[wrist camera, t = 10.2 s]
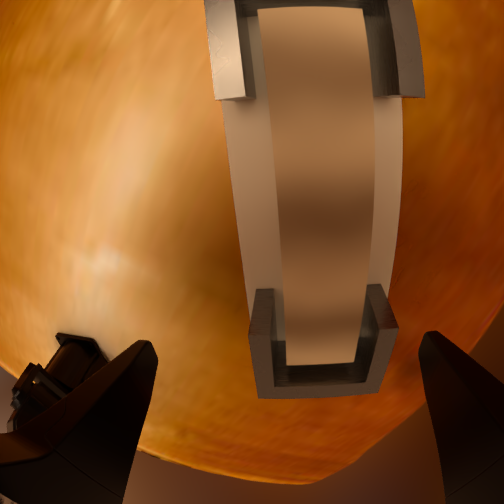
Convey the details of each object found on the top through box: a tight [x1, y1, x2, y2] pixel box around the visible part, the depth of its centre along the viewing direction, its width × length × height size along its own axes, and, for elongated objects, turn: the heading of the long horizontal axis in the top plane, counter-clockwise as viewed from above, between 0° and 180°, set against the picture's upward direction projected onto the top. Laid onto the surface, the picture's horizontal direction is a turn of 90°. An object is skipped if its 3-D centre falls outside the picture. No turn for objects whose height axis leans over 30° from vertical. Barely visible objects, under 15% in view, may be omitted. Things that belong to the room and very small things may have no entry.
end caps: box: [204, 0, 425, 399], centre depth 14 cm, size 25×9×4 cm, turn 6°
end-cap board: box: [221, 16, 403, 341], centre depth 17 cm, size 26×10×2 cm, turn 6°
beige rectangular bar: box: [257, 7, 375, 365], centre depth 15 cm, size 20×4×4 cm, turn 6°
